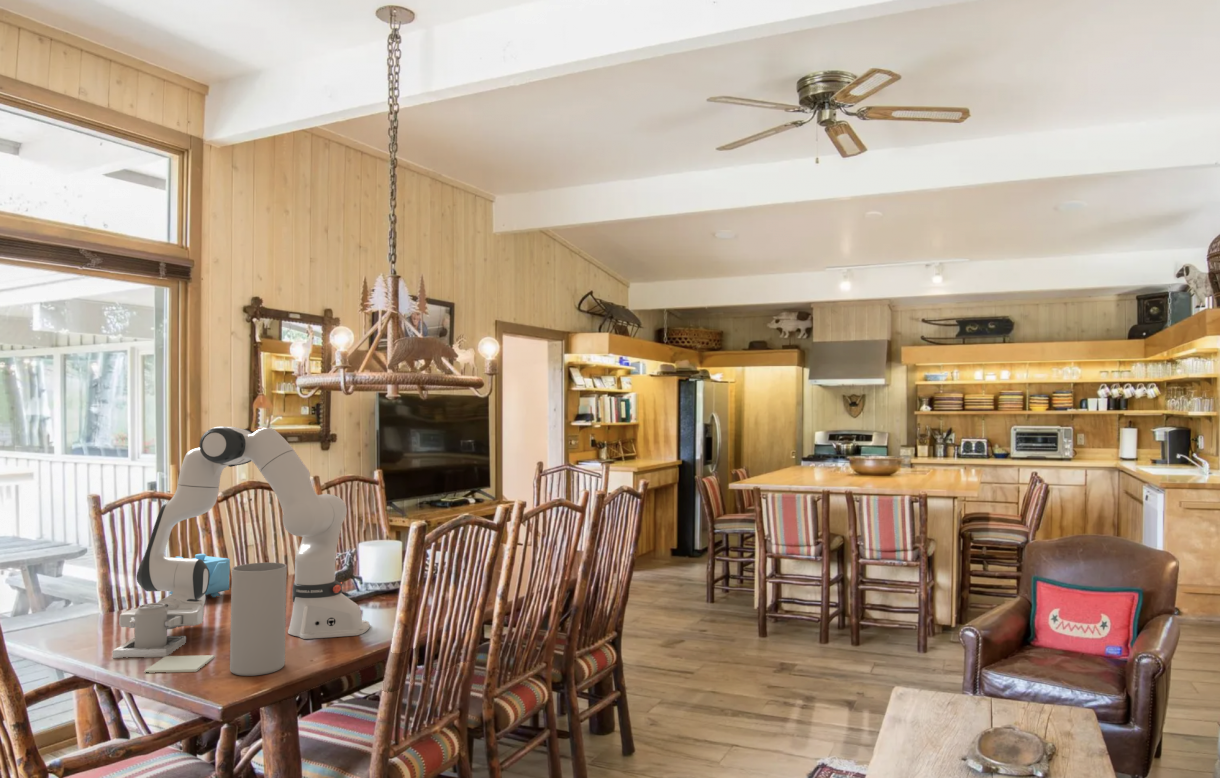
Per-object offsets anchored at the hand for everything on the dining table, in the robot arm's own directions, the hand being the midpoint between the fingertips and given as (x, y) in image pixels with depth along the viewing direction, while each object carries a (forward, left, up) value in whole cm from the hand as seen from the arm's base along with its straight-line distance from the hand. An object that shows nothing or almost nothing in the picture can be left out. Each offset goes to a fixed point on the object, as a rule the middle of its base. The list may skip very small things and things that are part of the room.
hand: (149, 624), depth 220 cm
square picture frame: (0, -1, -7) cm, 7 cm away
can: (0, -1, -7) cm, 7 cm away
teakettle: (+12, -66, -7) cm, 67 cm away
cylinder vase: (-33, +18, -7) cm, 38 cm away
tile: (-13, +13, -7) cm, 20 cm away
